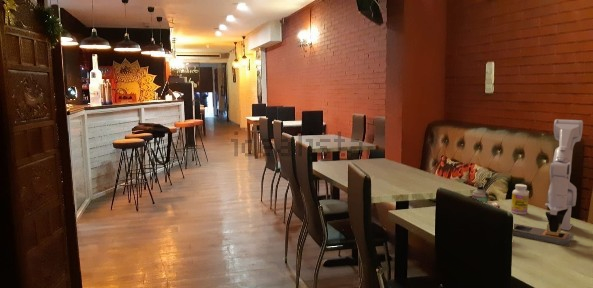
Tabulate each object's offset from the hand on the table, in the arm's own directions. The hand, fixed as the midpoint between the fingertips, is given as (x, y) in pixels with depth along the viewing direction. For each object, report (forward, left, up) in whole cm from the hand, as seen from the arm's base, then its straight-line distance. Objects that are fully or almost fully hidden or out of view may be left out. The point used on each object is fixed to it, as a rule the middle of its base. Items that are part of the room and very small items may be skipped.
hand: (555, 229), depth 170 cm
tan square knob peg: (0, 0, -4) cm, 4 cm away
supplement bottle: (-30, -20, -4) cm, 36 cm away
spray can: (+15, -24, -4) cm, 28 cm away
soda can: (+9, -22, -4) cm, 24 cm away
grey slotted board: (0, -6, -4) cm, 7 cm away
